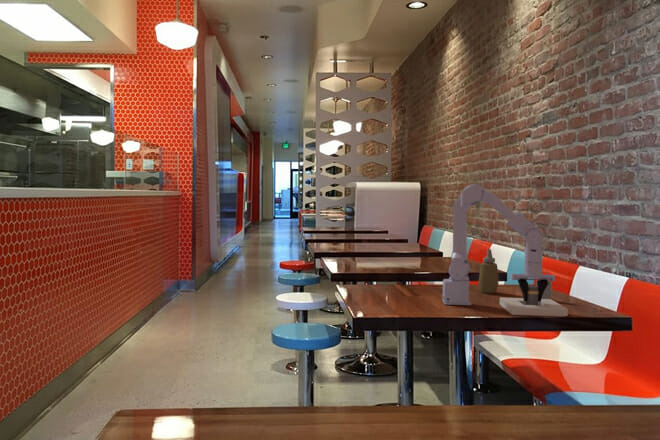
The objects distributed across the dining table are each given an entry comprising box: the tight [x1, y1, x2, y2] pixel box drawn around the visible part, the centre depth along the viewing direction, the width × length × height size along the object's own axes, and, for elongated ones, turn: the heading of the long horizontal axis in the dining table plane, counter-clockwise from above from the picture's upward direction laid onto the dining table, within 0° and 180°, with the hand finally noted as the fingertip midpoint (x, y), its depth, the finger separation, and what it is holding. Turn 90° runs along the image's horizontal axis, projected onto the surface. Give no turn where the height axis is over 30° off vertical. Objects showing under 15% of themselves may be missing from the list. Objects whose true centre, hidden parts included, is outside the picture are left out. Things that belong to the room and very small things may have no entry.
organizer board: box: [499, 297, 569, 317], centre depth 187 cm, size 18×18×2 cm
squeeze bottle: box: [478, 248, 500, 295], centre depth 221 cm, size 8×8×18 cm
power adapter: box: [535, 269, 553, 300], centre depth 206 cm, size 3×5×12 cm, turn 58°
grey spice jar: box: [526, 285, 539, 305], centre depth 187 cm, size 4×4×7 cm
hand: (532, 301), depth 187 cm, fingers closed on grey spice jar, 4 cm apart
